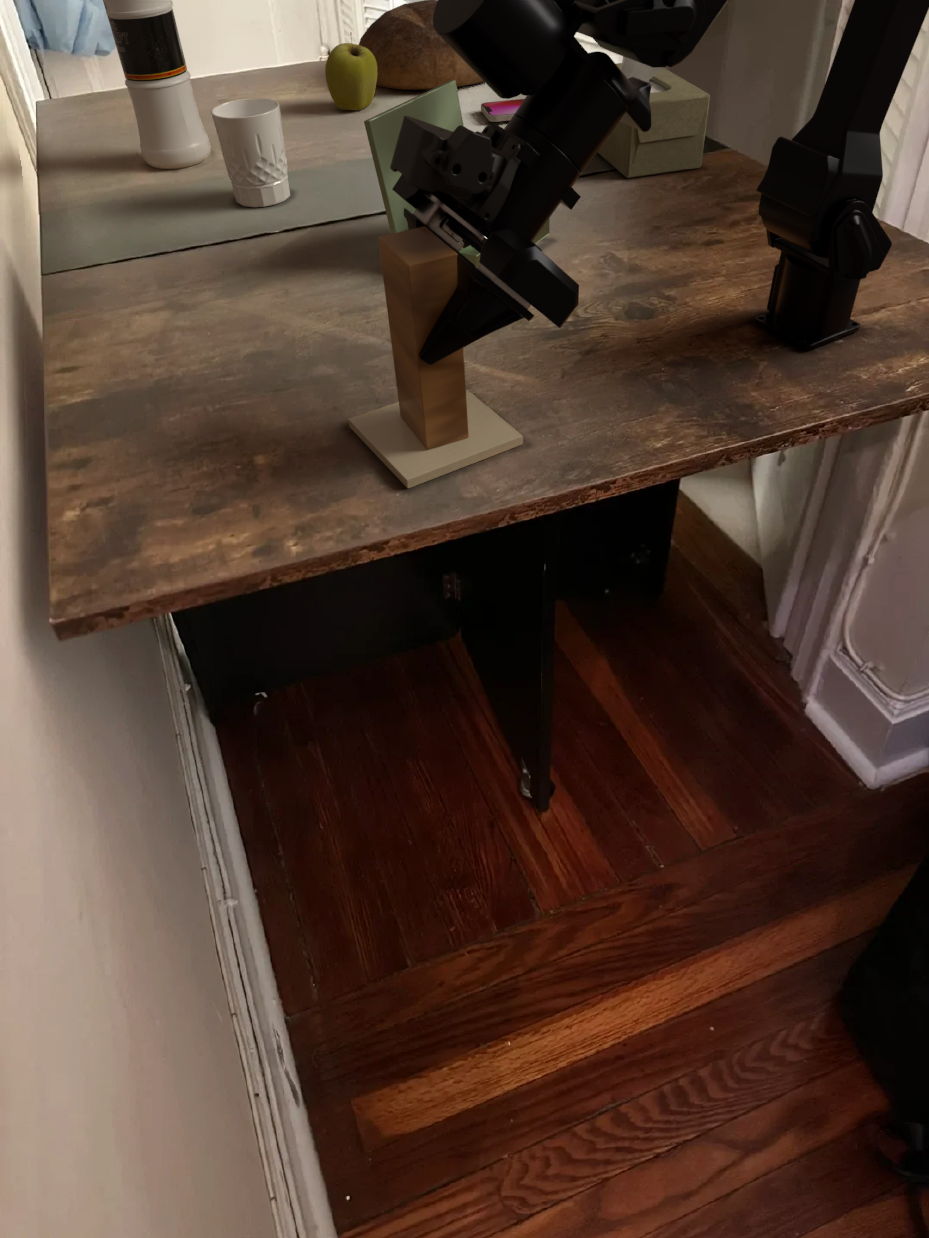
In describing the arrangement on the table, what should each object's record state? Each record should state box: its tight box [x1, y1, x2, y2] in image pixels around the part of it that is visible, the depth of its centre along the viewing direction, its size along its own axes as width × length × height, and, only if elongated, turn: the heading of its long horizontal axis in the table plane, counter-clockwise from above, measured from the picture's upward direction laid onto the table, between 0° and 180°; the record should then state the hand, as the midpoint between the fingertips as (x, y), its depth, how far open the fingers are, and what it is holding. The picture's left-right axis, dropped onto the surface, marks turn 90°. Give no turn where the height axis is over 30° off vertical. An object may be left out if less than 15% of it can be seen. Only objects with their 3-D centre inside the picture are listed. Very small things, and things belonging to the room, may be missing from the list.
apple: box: [324, 32, 377, 111], centre depth 132 cm, size 8×8×10 cm
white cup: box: [210, 97, 291, 208], centre depth 105 cm, size 8×8×10 cm
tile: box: [348, 388, 524, 489], centre depth 68 cm, size 10×10×1 cm
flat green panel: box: [363, 80, 465, 234], centre depth 88 cm, size 10×15×1 cm
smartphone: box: [480, 98, 525, 123], centre depth 127 cm, size 7×1×15 cm
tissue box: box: [597, 56, 711, 180], centre depth 108 cm, size 19×10×16 cm, turn 14°
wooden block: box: [377, 226, 469, 450], centre depth 63 cm, size 4×6×14 cm, turn 24°
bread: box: [358, 0, 485, 91], centre depth 143 cm, size 26×27×10 cm
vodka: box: [102, 0, 212, 170], centre depth 111 cm, size 9×9×30 cm
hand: (408, 343), depth 62 cm, fingers closed on wooden block, 5 cm apart
